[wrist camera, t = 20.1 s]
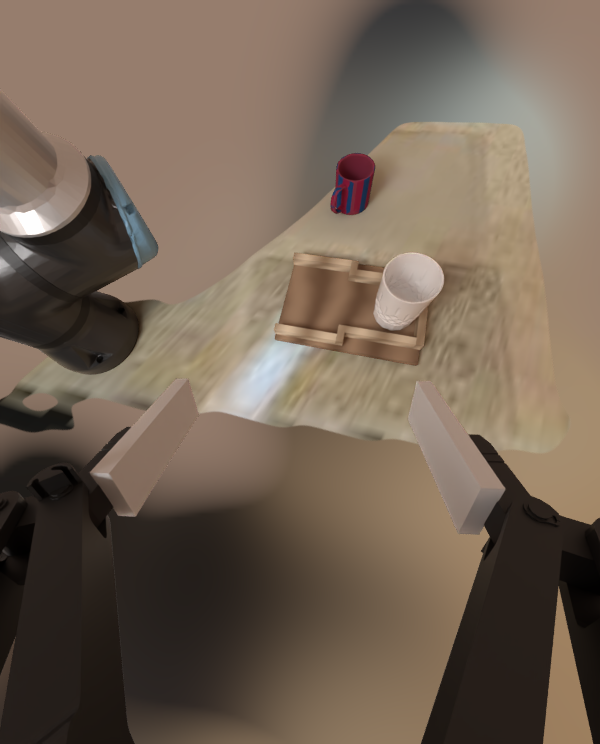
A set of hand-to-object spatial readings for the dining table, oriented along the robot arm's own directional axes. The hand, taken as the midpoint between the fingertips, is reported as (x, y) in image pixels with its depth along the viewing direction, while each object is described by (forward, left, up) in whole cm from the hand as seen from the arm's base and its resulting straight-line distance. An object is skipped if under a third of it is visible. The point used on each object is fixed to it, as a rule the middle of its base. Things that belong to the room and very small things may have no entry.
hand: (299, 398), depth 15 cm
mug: (-3, +44, -27) cm, 51 cm away
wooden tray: (+2, +22, -27) cm, 34 cm away
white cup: (+9, +21, -26) cm, 35 cm away
